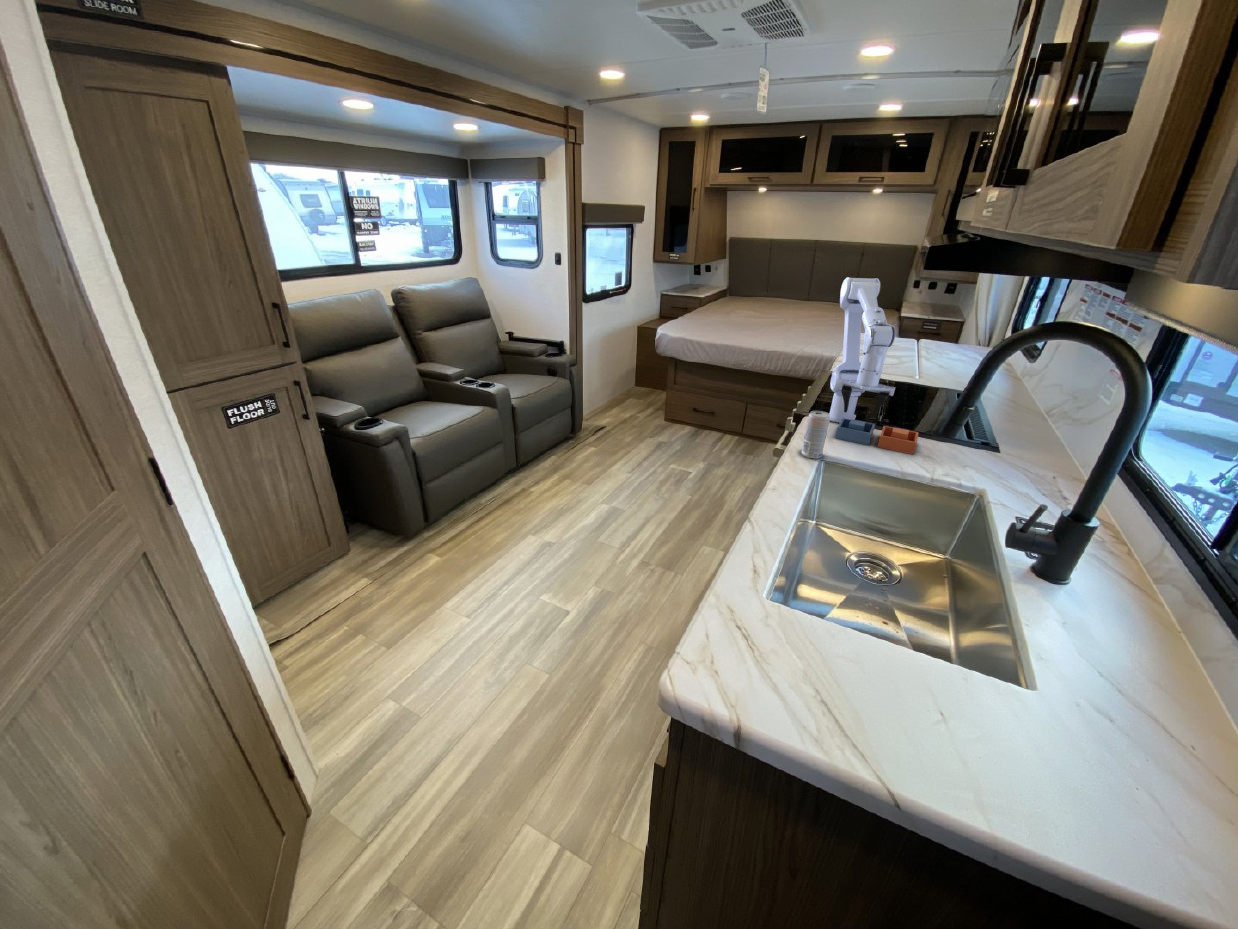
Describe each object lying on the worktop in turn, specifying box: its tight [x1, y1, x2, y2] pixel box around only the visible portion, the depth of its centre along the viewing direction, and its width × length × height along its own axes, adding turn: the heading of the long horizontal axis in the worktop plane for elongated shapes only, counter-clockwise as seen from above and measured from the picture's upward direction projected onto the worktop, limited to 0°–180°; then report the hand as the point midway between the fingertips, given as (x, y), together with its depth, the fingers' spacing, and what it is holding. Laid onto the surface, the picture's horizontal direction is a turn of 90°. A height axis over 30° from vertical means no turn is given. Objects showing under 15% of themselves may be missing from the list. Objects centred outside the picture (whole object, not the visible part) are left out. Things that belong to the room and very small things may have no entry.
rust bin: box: [877, 425, 919, 455], centre depth 142 cm, size 9×9×4 cm
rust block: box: [891, 427, 910, 440], centre depth 142 cm, size 4×4×4 cm
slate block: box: [848, 419, 866, 431], centre depth 147 cm, size 4×4×4 cm
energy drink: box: [800, 410, 831, 460], centre depth 133 cm, size 5×5×12 cm
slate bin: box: [834, 418, 876, 446], centre depth 147 cm, size 9×9×4 cm
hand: (859, 414), depth 145 cm, fingers open, 7 cm apart
